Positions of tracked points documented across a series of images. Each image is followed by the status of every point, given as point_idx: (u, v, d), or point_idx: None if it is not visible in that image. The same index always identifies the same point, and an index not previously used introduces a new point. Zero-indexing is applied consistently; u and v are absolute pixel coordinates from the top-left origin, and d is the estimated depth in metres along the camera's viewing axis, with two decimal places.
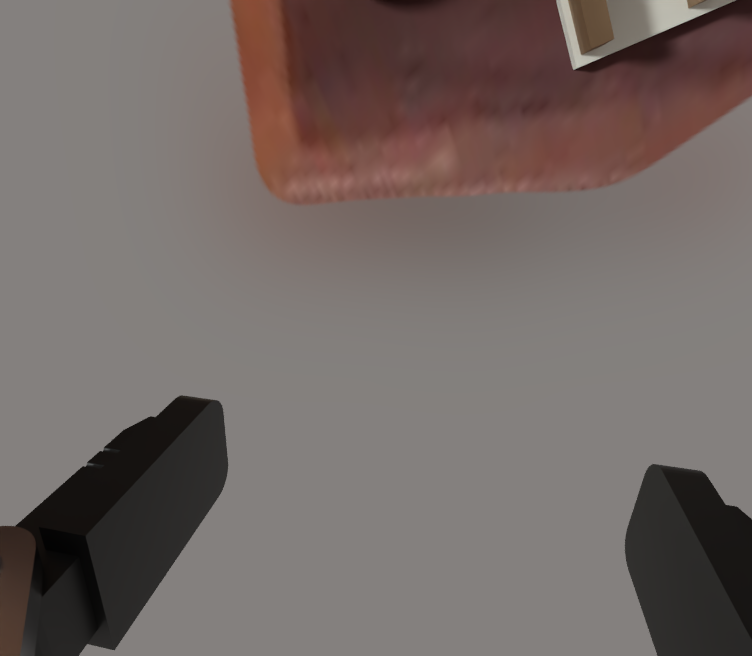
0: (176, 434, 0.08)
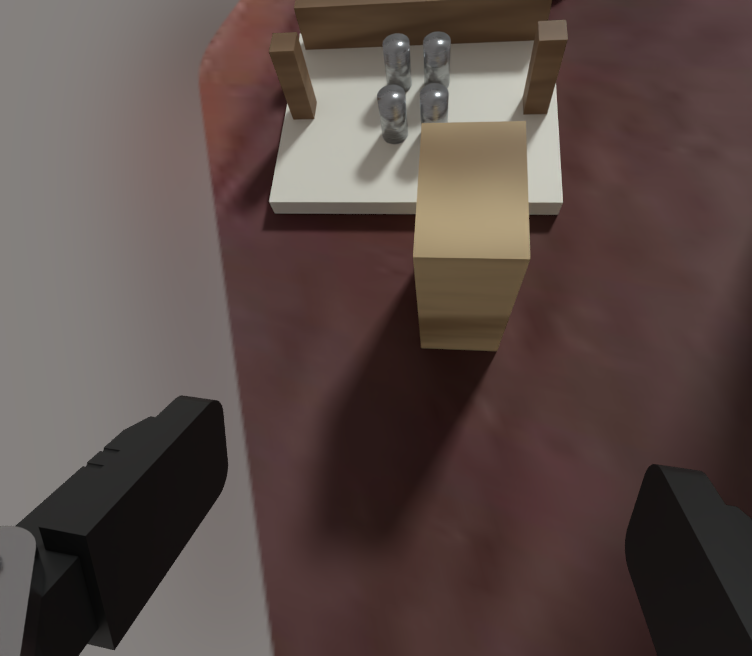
0: (176, 434, 0.08)
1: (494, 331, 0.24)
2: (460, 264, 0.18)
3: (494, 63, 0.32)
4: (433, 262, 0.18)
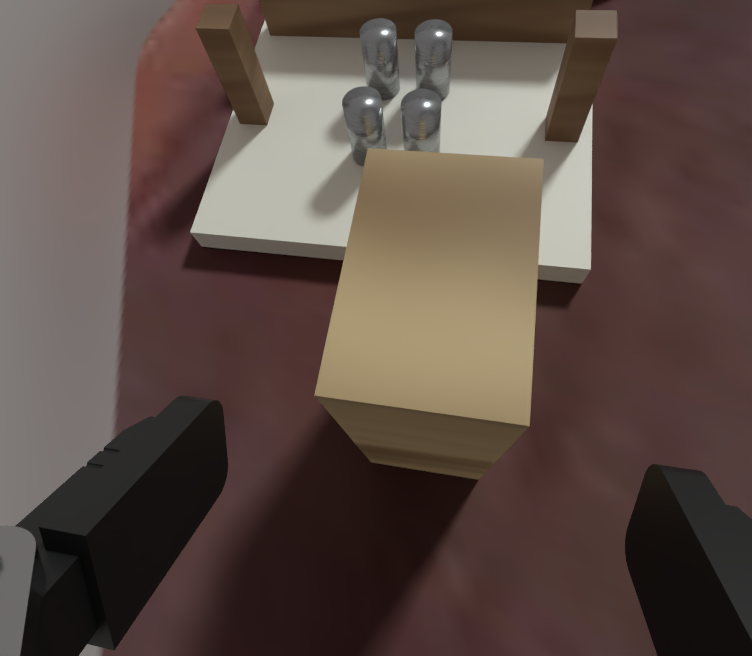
0: (176, 434, 0.08)
1: (473, 468, 0.15)
2: (401, 413, 0.10)
3: (511, 69, 0.24)
4: (353, 405, 0.10)
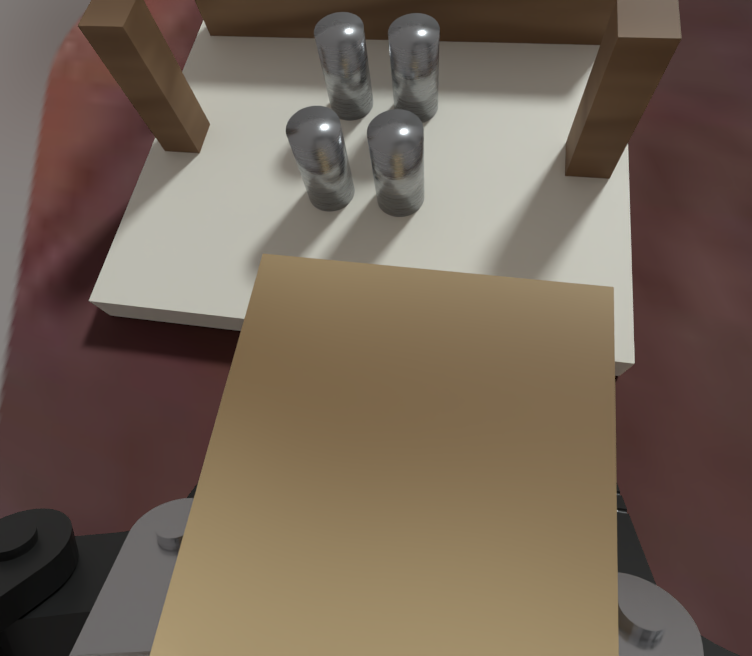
0: None
1: None
2: None
3: (519, 79, 0.18)
4: None
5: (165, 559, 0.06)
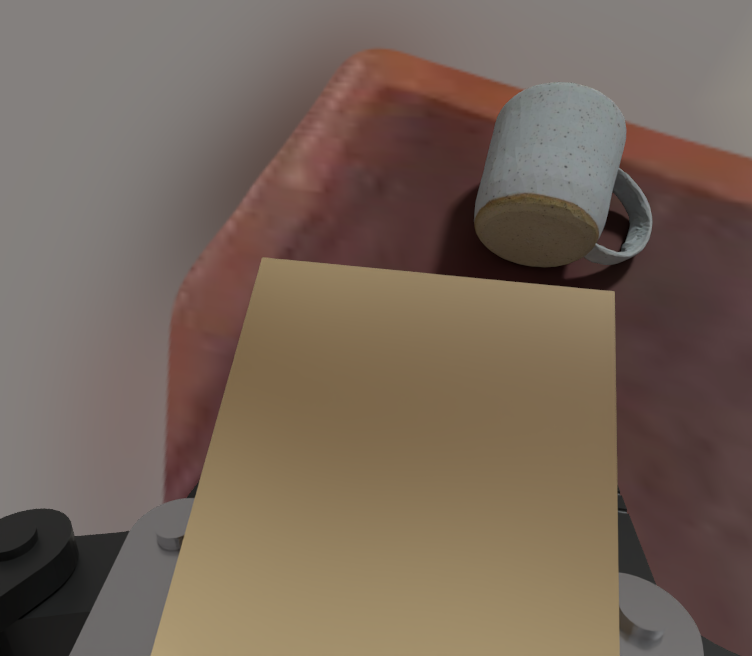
0: None
1: None
2: None
3: None
4: None
5: (165, 559, 0.06)
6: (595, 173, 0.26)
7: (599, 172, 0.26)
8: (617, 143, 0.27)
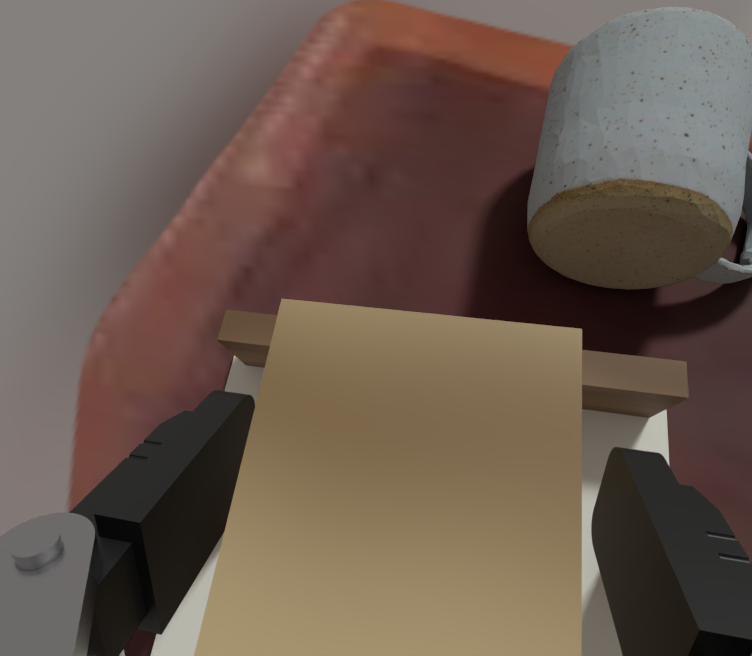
0: (215, 427, 0.09)
1: None
2: None
3: None
4: None
5: (15, 578, 0.06)
6: (731, 145, 0.16)
7: (736, 144, 0.16)
8: None
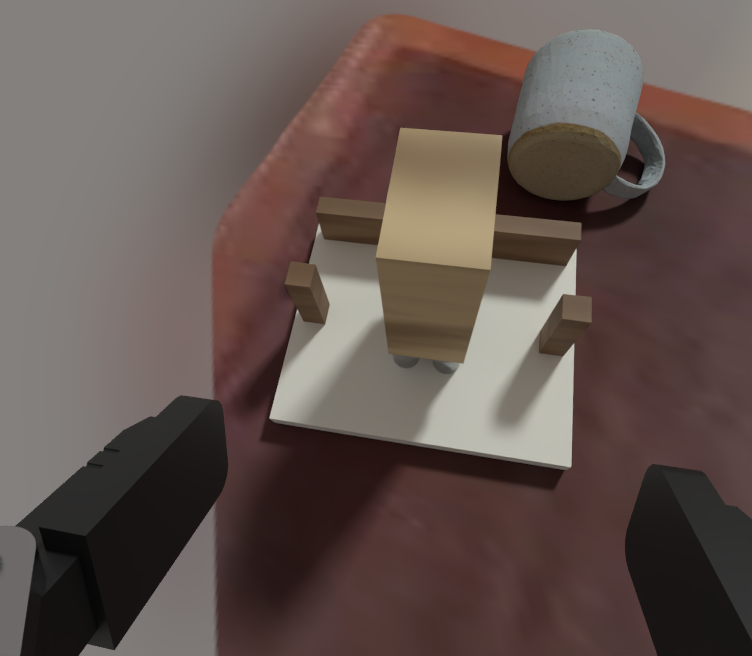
0: (176, 434, 0.08)
1: (459, 343, 0.24)
2: (422, 269, 0.18)
3: (514, 286, 0.31)
4: (395, 265, 0.18)
5: None
6: (619, 107, 0.29)
7: (622, 106, 0.29)
8: (636, 84, 0.31)
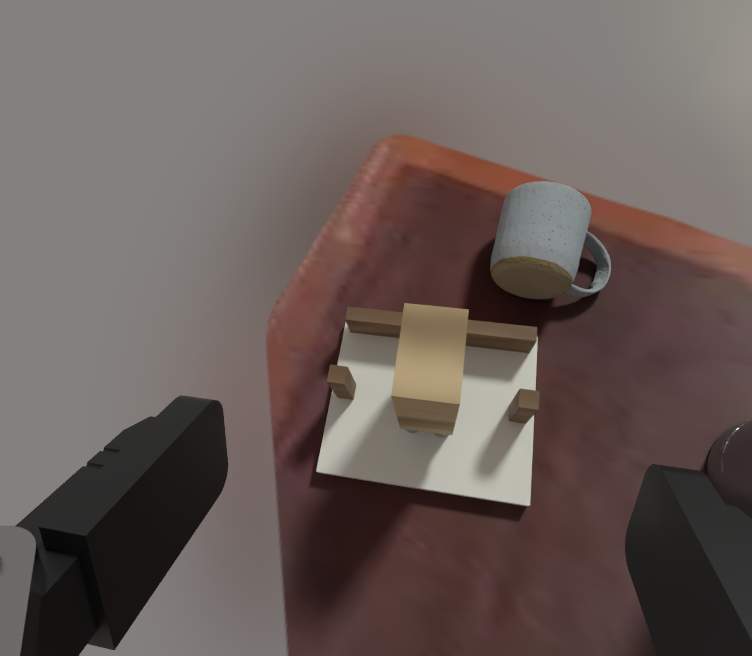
0: (176, 434, 0.08)
1: (448, 427, 0.35)
2: (419, 401, 0.29)
3: (491, 369, 0.42)
4: (403, 398, 0.29)
5: None
6: (569, 243, 0.40)
7: (571, 241, 0.40)
8: (584, 220, 0.42)
